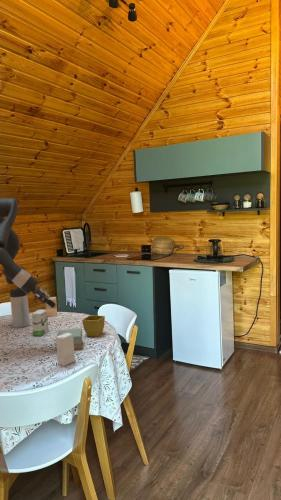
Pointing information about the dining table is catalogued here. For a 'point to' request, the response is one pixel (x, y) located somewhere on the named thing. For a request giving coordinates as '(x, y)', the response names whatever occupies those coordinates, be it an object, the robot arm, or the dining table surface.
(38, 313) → the ink box
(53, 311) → the maple block
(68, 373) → the dining table surface
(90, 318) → the flower pot
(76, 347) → the tower base slab
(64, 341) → the skincare box
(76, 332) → the tower top slab
